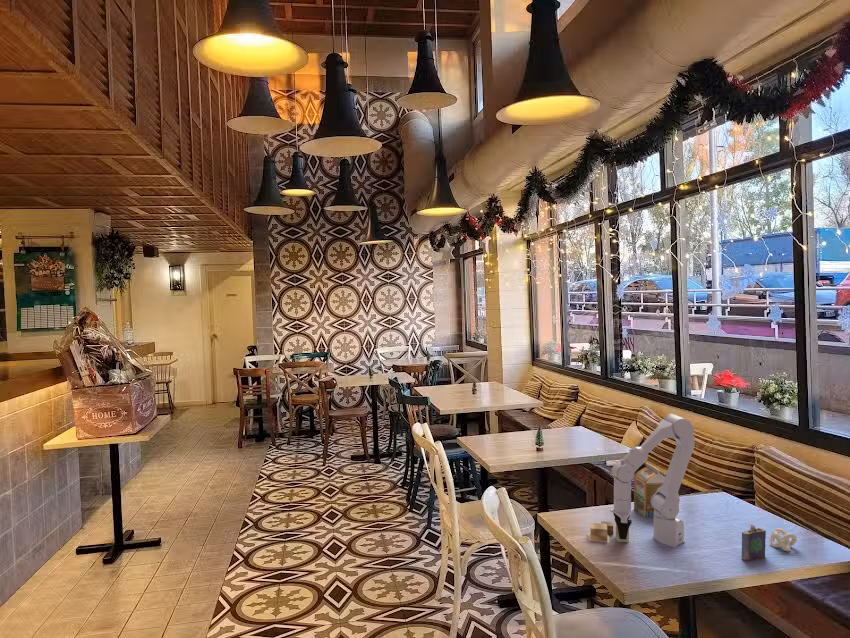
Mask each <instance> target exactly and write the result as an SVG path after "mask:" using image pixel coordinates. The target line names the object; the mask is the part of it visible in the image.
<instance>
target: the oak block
mask: <svg viewBox="0 0 850 638" xmlns="http://www.w3.org/2000/svg"><path fill="white" fill-rule="evenodd" d="M589 525H590V532H589V533H590V535H591V540H600V541H607V524H601V522H600V523H598V522H590V523H589ZM600 541H599V542H600Z"/></svg>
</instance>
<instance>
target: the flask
mask: <svg viewBox="0 0 850 638" xmlns="http://www.w3.org/2000/svg"><path fill="white" fill-rule="evenodd" d="M748 527H750V529H748V530H744V531H742V532H741V560H742V561H744V562H751V561H756V560H760V559H765V558H766V533H767V531H766V530H765V529H763V528H761V527H757V528H756V526H755V525H754V524H750V525H748Z"/></svg>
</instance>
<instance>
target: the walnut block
mask: <svg viewBox="0 0 850 638" xmlns="http://www.w3.org/2000/svg"><path fill="white" fill-rule="evenodd" d="M600 524H607V534H608V535H614V524H613V521H605V520H604V521H603V520H601V521H600Z"/></svg>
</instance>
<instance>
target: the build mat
mask: <svg viewBox="0 0 850 638" xmlns="http://www.w3.org/2000/svg"><path fill="white" fill-rule="evenodd" d="M587 534H588V537H587V538H588V541H590V542H591V541H592V542H602V543H610V536H609V535H610V534H607V541H600V540H591V535H590V532H588V533H587Z"/></svg>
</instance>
